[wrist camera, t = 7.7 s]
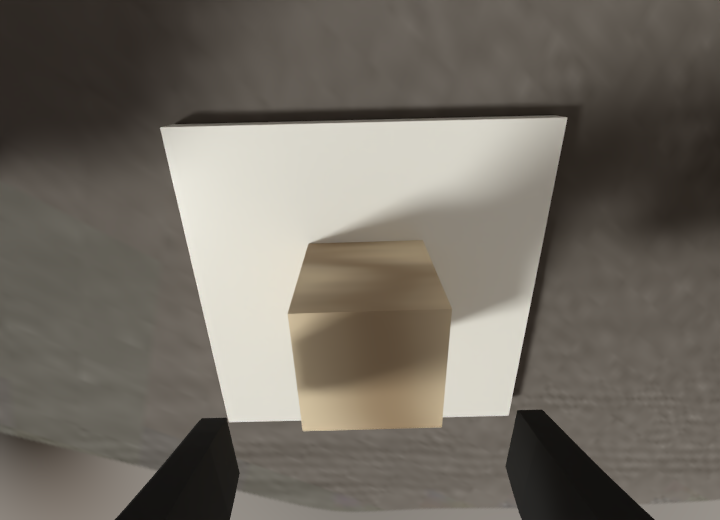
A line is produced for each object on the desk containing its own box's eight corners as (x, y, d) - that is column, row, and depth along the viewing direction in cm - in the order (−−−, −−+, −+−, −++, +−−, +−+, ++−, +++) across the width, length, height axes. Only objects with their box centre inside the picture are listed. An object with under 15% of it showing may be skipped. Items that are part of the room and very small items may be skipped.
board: (234, 406, 20) (228, 422, 19) (172, 124, 14) (160, 127, 13) (501, 400, 20) (508, 415, 19) (553, 115, 14) (567, 117, 13)
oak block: (317, 337, 17) (302, 431, 12) (308, 243, 15) (287, 314, 10) (418, 334, 17) (441, 427, 12) (422, 240, 15) (452, 309, 10)
